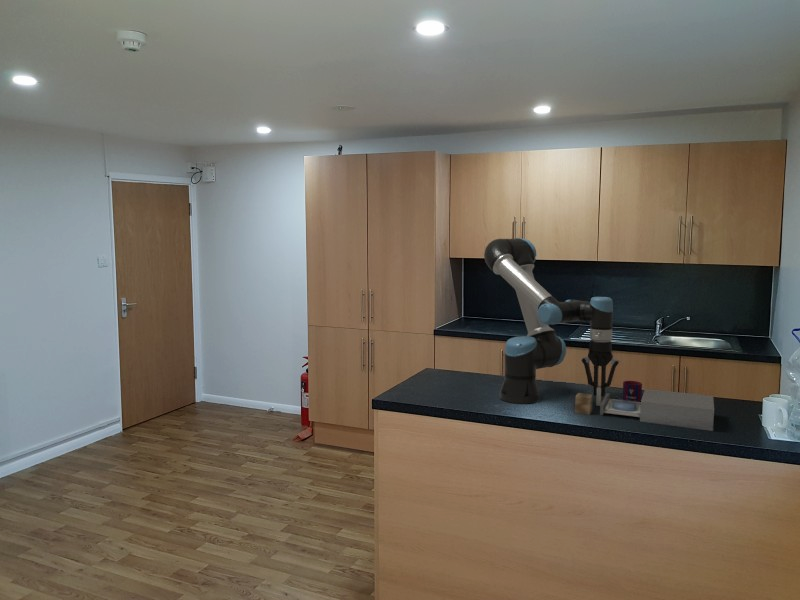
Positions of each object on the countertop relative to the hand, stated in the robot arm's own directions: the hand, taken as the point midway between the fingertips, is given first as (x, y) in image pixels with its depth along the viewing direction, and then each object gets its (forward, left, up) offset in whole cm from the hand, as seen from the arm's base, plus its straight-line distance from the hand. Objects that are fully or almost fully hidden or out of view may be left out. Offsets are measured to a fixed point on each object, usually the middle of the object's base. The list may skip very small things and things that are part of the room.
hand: (598, 404), depth 218 cm
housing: (+26, 0, -2) cm, 26 cm away
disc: (+9, 0, 0) cm, 9 cm away
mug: (+10, +19, -2) cm, 22 cm away
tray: (+10, 0, -1) cm, 10 cm away
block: (-4, -6, -2) cm, 7 cm away
